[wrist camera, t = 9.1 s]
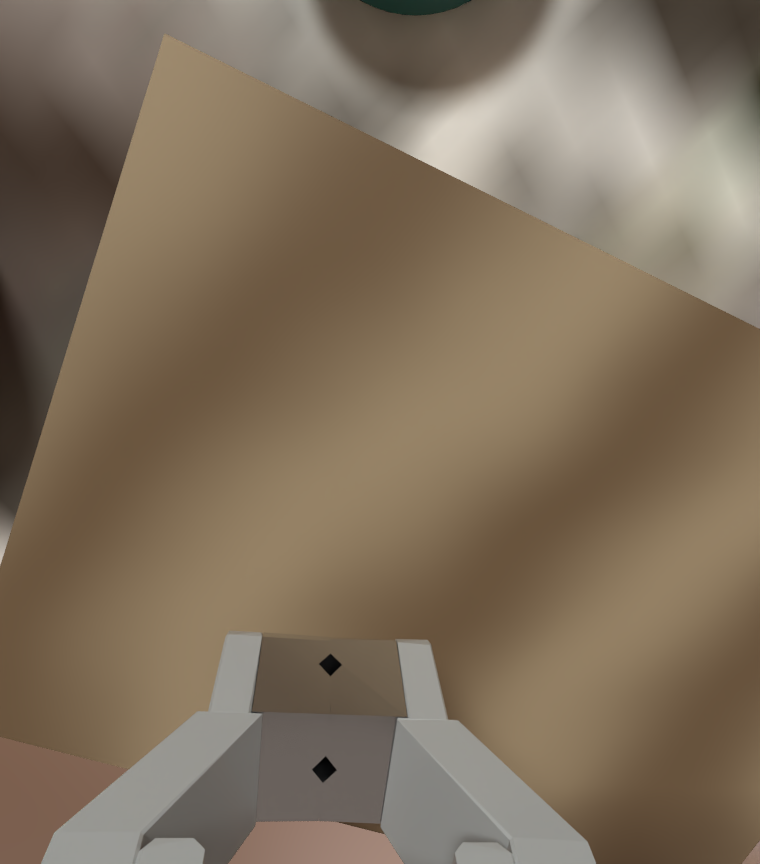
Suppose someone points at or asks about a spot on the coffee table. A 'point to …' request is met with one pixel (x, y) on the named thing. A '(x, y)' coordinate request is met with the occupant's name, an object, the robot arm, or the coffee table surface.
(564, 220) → the coffee table surface
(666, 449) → the lid
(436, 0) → the bracket
